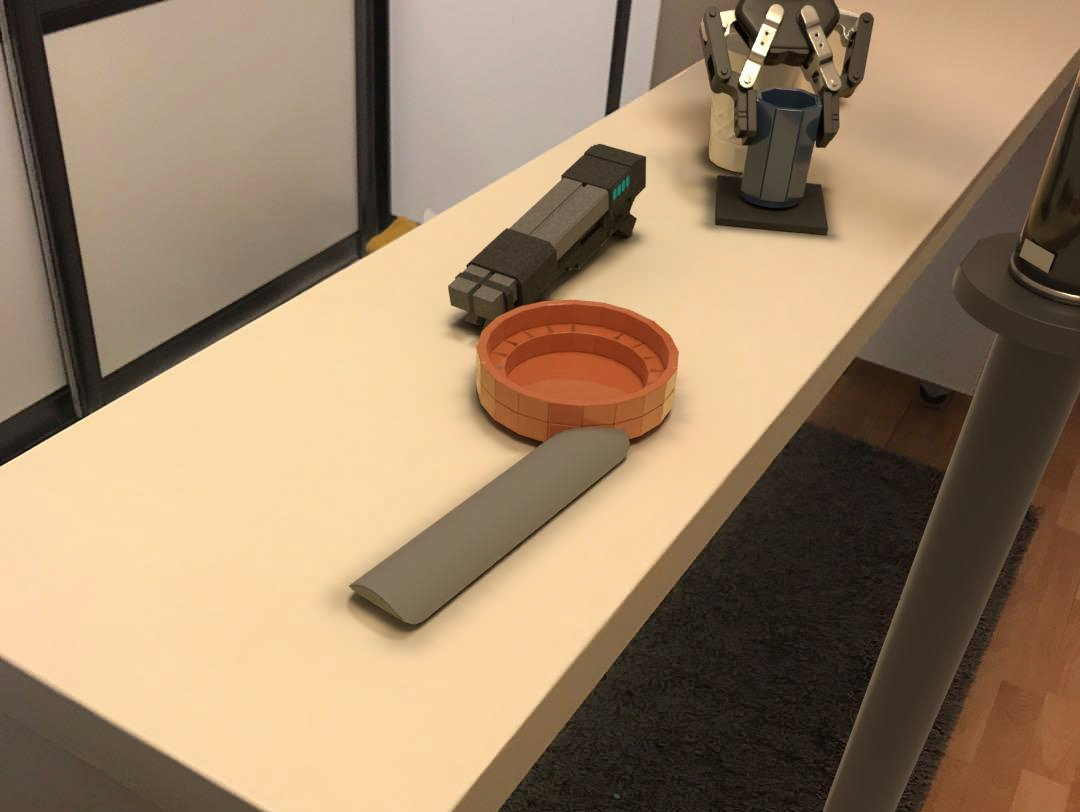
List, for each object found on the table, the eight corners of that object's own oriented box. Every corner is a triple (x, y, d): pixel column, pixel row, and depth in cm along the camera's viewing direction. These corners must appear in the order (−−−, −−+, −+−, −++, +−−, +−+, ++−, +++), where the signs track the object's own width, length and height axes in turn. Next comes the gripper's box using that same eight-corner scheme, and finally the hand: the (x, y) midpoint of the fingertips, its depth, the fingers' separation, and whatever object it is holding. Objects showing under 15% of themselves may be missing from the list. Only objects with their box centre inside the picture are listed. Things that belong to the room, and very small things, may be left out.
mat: (819, 190, 93) (821, 184, 93) (826, 235, 86) (828, 228, 86) (716, 181, 94) (717, 174, 93) (715, 224, 87) (716, 217, 87)
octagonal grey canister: (799, 186, 91) (819, 90, 86) (802, 211, 87) (823, 112, 82) (739, 180, 92) (755, 84, 86) (739, 205, 88) (756, 106, 82)
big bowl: (675, 357, 71) (682, 310, 69) (666, 465, 62) (674, 415, 60) (495, 338, 72) (495, 291, 70) (460, 442, 63) (460, 392, 61)
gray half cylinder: (342, 597, 52) (339, 570, 51) (576, 424, 64) (577, 399, 63) (405, 637, 51) (404, 610, 49) (634, 451, 62) (637, 426, 61)
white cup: (695, 169, 95) (711, 52, 89) (708, 139, 101) (724, 26, 95) (783, 182, 94) (806, 64, 88) (792, 150, 100) (814, 37, 93)
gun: (654, 228, 85) (646, 120, 76) (521, 405, 77) (496, 306, 69) (605, 213, 86) (592, 106, 78) (470, 384, 79) (440, 286, 70)
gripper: (706, -96, 82) (707, 119, 81) (889, -89, 82) (893, 124, 81) (687, -37, 89) (688, 160, 88) (855, -31, 90) (858, 164, 89)
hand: (786, 142), depth 85 cm, fingers closed on octagonal grey canister, 5 cm apart
